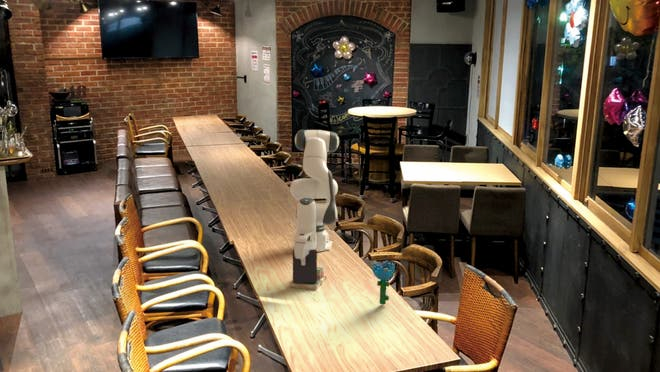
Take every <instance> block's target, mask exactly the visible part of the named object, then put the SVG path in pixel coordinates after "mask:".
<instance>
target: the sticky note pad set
mask: <svg viewBox="0 0 660 372" xmlns="http://www.w3.org/2000/svg"><path fill="white" fill-rule="evenodd" d="M324 269H325V268H324V266H323V265H317V282H316V283H293V279H292V280H291V281H290V282H289V287H290V288H296V289H303V290H310V291H311V290H312V291H317V290H318V289H319V288H320V287H321V286H322V285H323V284H324V283H325V282H326V280H327V279H328V277H327V275H325V271H324Z"/></svg>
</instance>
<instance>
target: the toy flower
mask: <svg viewBox="0 0 660 372" xmlns="http://www.w3.org/2000/svg"><path fill="white" fill-rule="evenodd" d="M395 269H396V266H395V263H392V262H389V261H388V260H385V261H384V262H381V264H377V263H376V262H374V263H373V266H372V273H373V276H375V278H377V280H378V281H376V282H377V284H376V285H377V287H379V304H380V305H381V306H383V305H386V301H389V299H390V297H389V295H387V288H388V287H390V282H389V281H388V280H390V279H391V278H392V276H394V273H395V271H396V270H395Z"/></svg>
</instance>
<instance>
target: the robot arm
mask: <svg viewBox="0 0 660 372" xmlns="http://www.w3.org/2000/svg"><path fill="white" fill-rule="evenodd" d="M294 143H295V147H296V148H297V150H299V151H302V152H303V160H302V169H303V171H304V173H305V174H306V175H307V176H308V177H310V178H307V177H306V178H304V177H303V178H297V179H294V180H293V181H292V182H291V184H290V186H289V187H290V188H289V191H290V194H291V195H292V197H293V198H295V200H297V201H298V203H297V208H296V216H295V217H296V220H297V224H296V232H295V234H294V235H293V242H294V247H293V248H294V249H293V250H294V253H295V258H297V259H301V265H305V264H306V261H305V257H306V256H307V255H308V254H309V250H314V249H315V250H317V253H318V252H324V251H330V250H331V248H332V246H333V241H332V240H330V239H329V238H330V236H329V235H330V233H328V231H327V230H326V225H332V224H334V223H335V222H336V221H337V219H338V208H337V205H336V204H337V203H336V195H337V193H338V190H339V189H338V188H339V186H338V183H337V181H336V180H335V179H334V178H333V173H332V171H331V170H330V169H328V166H327V162H328V161H327V158H328V153H329V154H330V153H334V152H336V151H337V149H338V148H339V145H340V137H339V136H338V134H337V132H334V131H329V130H323V129H299V130H298V131H297V133H296V134H295V136H294ZM316 199H326V201H325V202H316V201H315V200H316Z"/></svg>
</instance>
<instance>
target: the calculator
mask: <svg viewBox="0 0 660 372" xmlns="http://www.w3.org/2000/svg"><path fill="white" fill-rule="evenodd" d="M305 261H306V264H305V265H301V259H297V258H295V253H294V249H292V280H293V283H316V282H317V266H318V262H317V261H318V252H317V250H315V249H314V250H309V254H308V255H307V256H306V257H305Z"/></svg>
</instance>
